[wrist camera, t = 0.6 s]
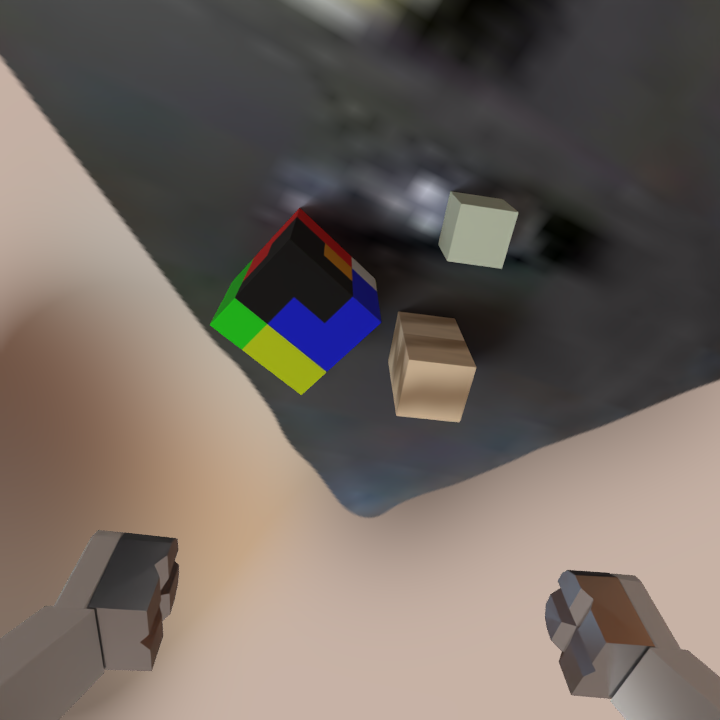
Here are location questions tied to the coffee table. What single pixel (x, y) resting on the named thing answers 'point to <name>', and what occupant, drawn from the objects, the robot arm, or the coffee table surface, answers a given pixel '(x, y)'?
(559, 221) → the coffee table surface
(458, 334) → the tower base
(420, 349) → the tower mid
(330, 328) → the puzzle toy
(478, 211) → the sage cube
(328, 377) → the coffee table surface
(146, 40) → the coffee table surface
